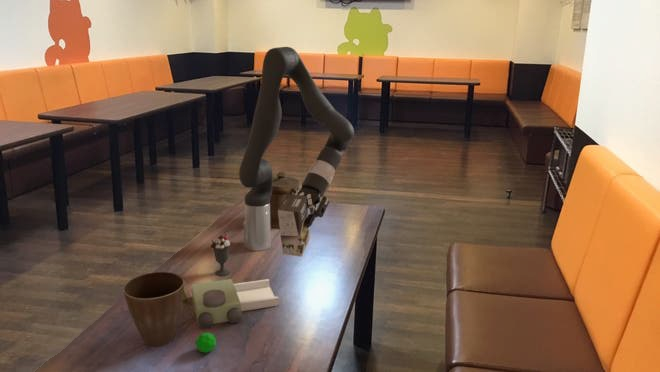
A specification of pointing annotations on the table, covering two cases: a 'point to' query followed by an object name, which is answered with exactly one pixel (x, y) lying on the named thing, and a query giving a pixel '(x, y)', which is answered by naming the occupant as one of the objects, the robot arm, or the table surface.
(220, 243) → the sundae
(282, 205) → the coffee box
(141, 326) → the plant pot
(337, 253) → the table surface
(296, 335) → the table surface
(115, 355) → the table surface
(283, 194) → the wooden container
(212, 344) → the polyhedron
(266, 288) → the toy front loader
